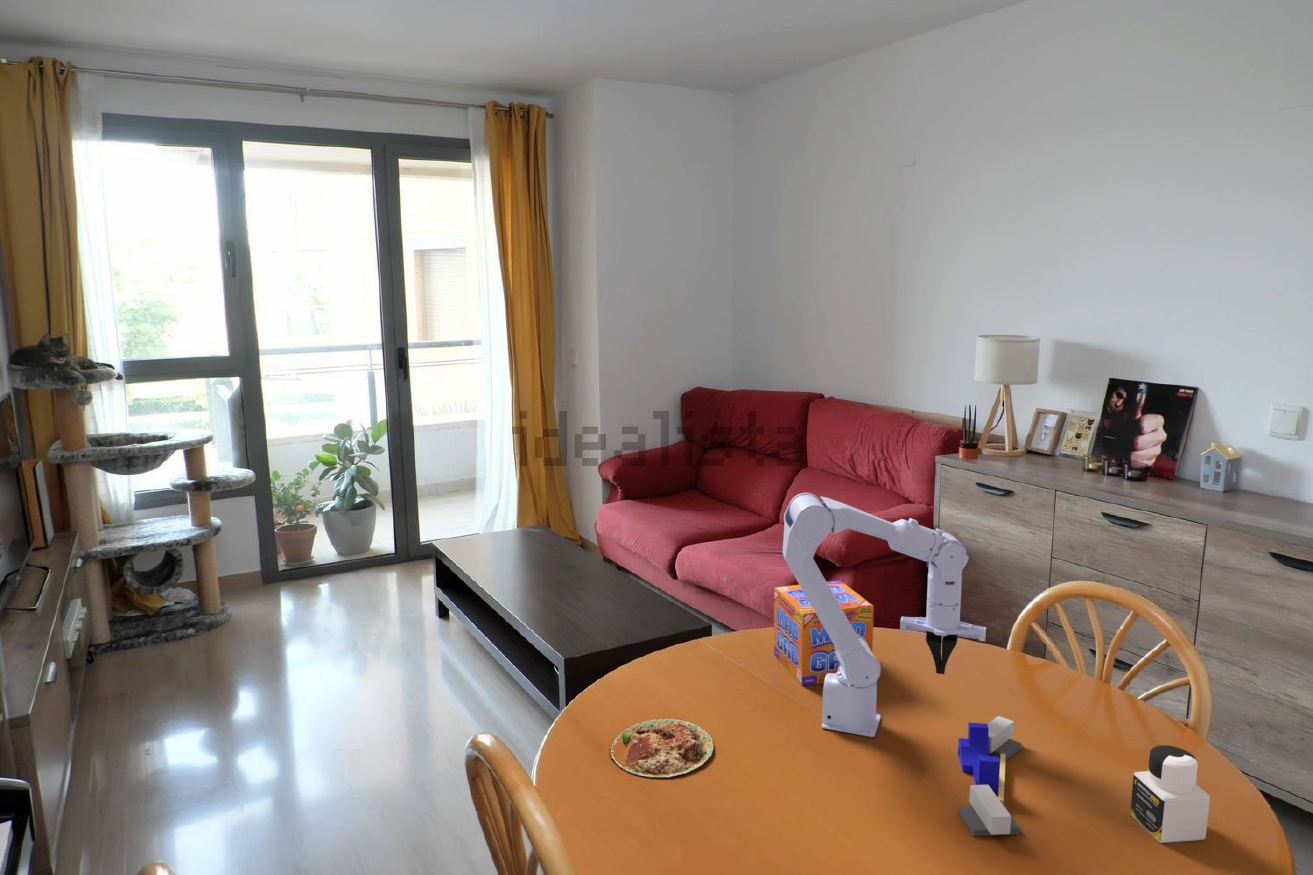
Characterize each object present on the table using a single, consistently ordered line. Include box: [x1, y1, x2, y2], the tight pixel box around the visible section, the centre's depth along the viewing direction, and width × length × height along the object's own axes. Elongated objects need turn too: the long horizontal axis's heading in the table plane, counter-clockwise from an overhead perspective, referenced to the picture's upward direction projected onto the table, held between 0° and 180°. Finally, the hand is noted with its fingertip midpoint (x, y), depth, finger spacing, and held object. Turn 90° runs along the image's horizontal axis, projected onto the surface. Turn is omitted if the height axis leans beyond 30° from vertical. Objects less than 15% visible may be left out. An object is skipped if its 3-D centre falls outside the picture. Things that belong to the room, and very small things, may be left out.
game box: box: [773, 580, 875, 686], centre depth 182 cm, size 16×16×16 cm
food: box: [609, 717, 715, 779], centre depth 152 cm, size 18×18×3 cm
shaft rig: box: [958, 715, 1022, 837], centre depth 140 cm, size 9×31×4 cm, turn 157°
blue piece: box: [957, 722, 1000, 797], centre depth 143 cm, size 12×4×6 cm, turn 168°
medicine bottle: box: [1129, 744, 1211, 844], centre depth 128 cm, size 7×7×12 cm
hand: (940, 671), depth 158 cm, fingers closed
